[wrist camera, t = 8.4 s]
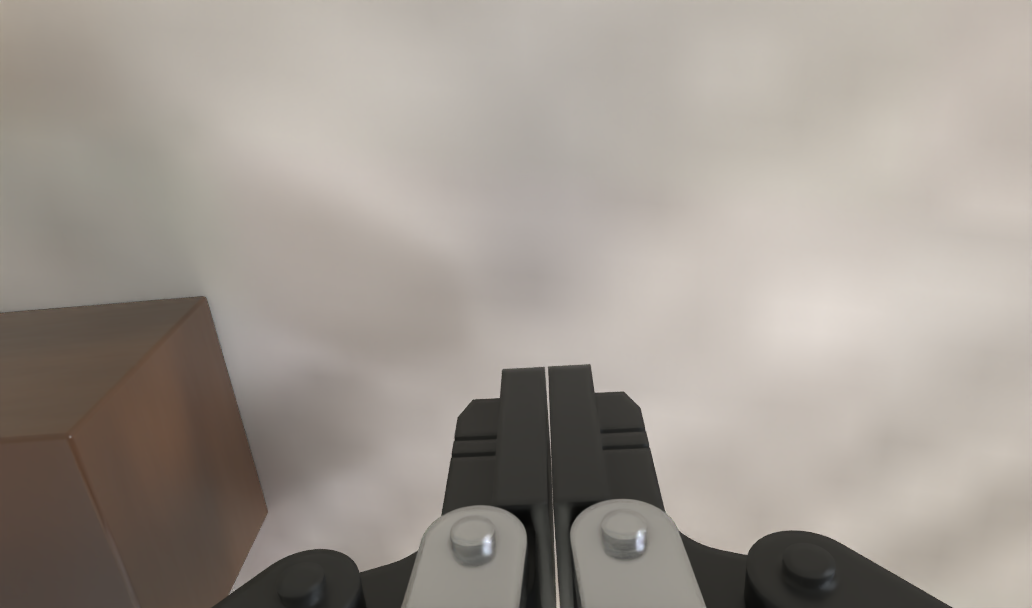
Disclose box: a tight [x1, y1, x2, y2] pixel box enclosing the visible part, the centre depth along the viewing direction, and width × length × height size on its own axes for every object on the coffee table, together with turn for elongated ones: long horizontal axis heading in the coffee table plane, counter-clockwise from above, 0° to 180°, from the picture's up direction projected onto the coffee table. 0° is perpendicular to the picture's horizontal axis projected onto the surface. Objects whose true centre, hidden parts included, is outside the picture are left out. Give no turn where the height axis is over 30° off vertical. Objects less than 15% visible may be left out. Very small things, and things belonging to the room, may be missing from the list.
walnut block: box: [0, 296, 268, 608], centre depth 13 cm, size 5×5×4 cm
